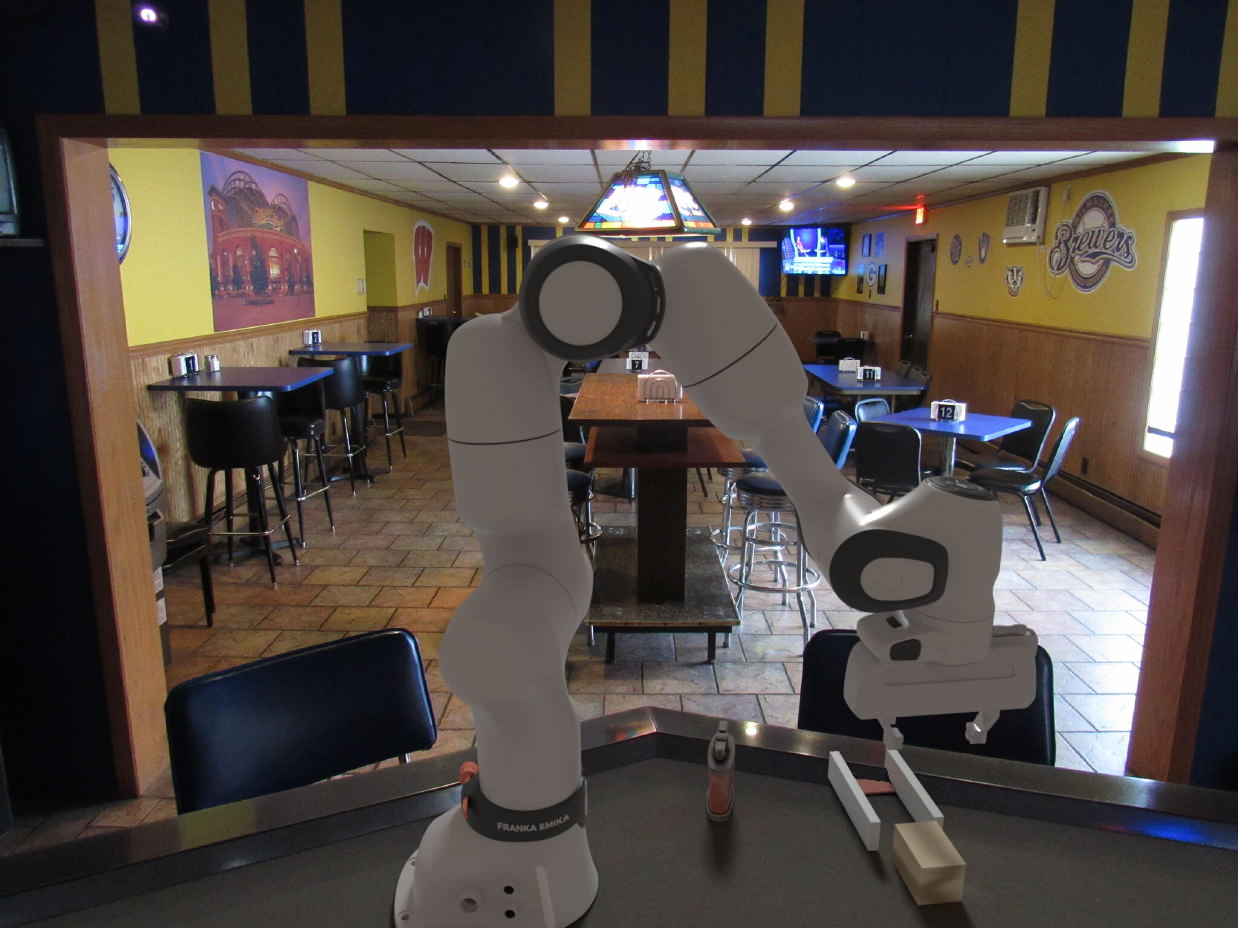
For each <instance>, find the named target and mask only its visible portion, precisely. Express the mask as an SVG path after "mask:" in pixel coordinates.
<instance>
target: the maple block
mask: <svg viewBox="0 0 1238 928" xmlns="http://www.w3.org/2000/svg"><path fill="white" fill-rule="evenodd" d="M891 850H892V851H891V859H890V860H891V861H892V863H893V865H894V867H895V868H896V870H897V871H898V873H899V875H900V877H901V879H902V881H903V882H904V884H905V886H906V887H907V889H908V890H909V892H910V894H911V896H912V898H913V899H914V901H915V902H916V904H917V905H918V906H924V905H925V906H926V905H933V904H935V905H936V904H937V905H939V904H948V903H958V902H962V901H963V893H964V885H965V876H966V871H967V870H966V868H967V863H966V862H965V861H964V859H963V858H962V857H961V855H960V853H959V852H958V850H957V849H956V848H955V845H953V843H952V841H951V840H950V839H949V838H948V836H947V834H946V833H945V832H944V830H942V829H941V827H940V826H939V824H938V823H937V821H929V822H907V823H906V822H905V823H895V824H894V830H893V839H892V849H891Z"/></svg>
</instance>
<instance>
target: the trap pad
mask: <svg viewBox="0 0 1238 928" xmlns="http://www.w3.org/2000/svg"><path fill="white" fill-rule="evenodd" d="M855 780H856V781H857V783H858V785H859V786H860V788H861V790H862V791H863V793H864V795H865V796H866V795H876V794H877V795H879V794H890V793H893V794H894V793H896V791H895V790H894V788H893V787H892V785H891V784H890V782H884V781H879V782H878V781H875V780H868V779H866V780H865V779H863V780H862V779H860V780H859V779H856V778H855Z"/></svg>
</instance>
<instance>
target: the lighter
mask: <svg viewBox="0 0 1238 928" xmlns="http://www.w3.org/2000/svg"><path fill="white" fill-rule="evenodd" d="M707 749H708V750H707V766H708V790H707V791H706V812H707V813H706V814H707V817H708V818H709V819H710V820H712V821H714V822H718V823H719V822H720V823H721V822H725V821H727V820H728V819H729V818H730V814H731V812H732V810H733V804H734V785H733V781H734V777H735V758H736V744H735V739H734V736H733V735H732V734H730V733H729V722H727V720H720V721H719V722H718V728H717V732H716V733H715V734H714V735H713V736H712V738H711V740H710V742H709V746H708V748H707Z"/></svg>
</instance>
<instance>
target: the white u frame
mask: <svg viewBox="0 0 1238 928" xmlns="http://www.w3.org/2000/svg"><path fill="white" fill-rule="evenodd" d="M884 754H885V755H884V765H883V767H884V766H885V768H886V769H887V771H888V775H889V779H890V781H891V785H892V787H893V789H894V790H895V793H896V794H897V796H898V798H899V799H900V800H901V802H902V804H903V806H905V808H906V810H907V811H908V812H909V814H910V816H911V817H912V819H913V821H914V823H916V822H929V821H937V823H938V824H939V826H940V827H941V829H942V830H943V828H944V819H945V815H943V813H942V812H941V810H940V809H939V807H938V806H937V805H936V804H935V802H934V800H933V799H932V798H931V796H930V795H929V793H928V792H927V791H926V789H925V788H924V787H923V785H922V783H921V782H920V781H919V779H918V778H917V777H916V775H915V774H914V772H913V771H912V769H911V768H910V767H909V765H908V764H907V763H906V761H905V760H904V759H903V756H901V754H900V752H899V750H888V749H887V748H886V747H885V753H884ZM852 774H853V773H852V771H851V770H850V768H849V767H848V764H847V762H845V759H844V758H843V756H842V755H841V753H840V751H839V750H837V751H835V750H834V751H829V759H828V772H827V778H828V780H829V782H830V784H831V785H832V787H833V789H834V791H835V793H836V795H837V796H838V798H839V800H840V802H841V804H842V806H843V807H844V809H845V812H846V814H847V815H848V816H849V819H850V820H851V822H852V824H853V826H854V828H855V829H856V831H857V833H858V834H859V837H860V839H861V840H862V842H863V844H864V845H865V847H866V849H867V851H868V852H873V851H879V844H880V836H881V835H880V833H881V832H880V831H881V822H882V821H881V820H880V818H879V816H878V815H877V813H876V812H875V810H874V808H873V807H872V805H871V803H870V802H869V800H868V798H867V796H866V795H864V793H863V791H862V790H861V788H860V786H859V785H858V783H857V781H856V780H855V778H854V776H853V775H852ZM943 831H944V830H943Z"/></svg>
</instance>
